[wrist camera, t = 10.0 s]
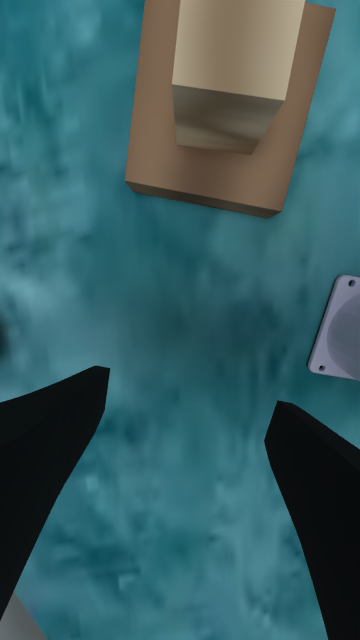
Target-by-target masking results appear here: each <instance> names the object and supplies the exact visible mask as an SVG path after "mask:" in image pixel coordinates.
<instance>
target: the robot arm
mask: <svg viewBox="0 0 360 640" xmlns="http://www.w3.org/2000/svg"><path fill="white" fill-rule="evenodd" d="M350 280H351V281H352V284H351V285H350V286H349V285H348V282H349V281H350ZM321 365H323V367H322V368H321V369H319V367H320V366H321ZM308 369H309V370H310V371H312V372H314V373H320V374H325V375H331V376H337V377H342V378H348V379H354V380H357V381H359V382H360V277H355V276H349V275H341V276H339V277H338V278H337V279H336V282H335V285H334V288H333V291H332V294H331V297H330V300H329V303H328V306H327V309H326V312H325V315H324V318H323V321H322V324H321V327H320V330H319V333H318V336H317V339H316V342H315V345H314V348H313V351H312V354H311V357H310V360H309V363H308ZM109 374H110V368H106V367H101V366H93V367H91V368H88V369H86V370H84V371H82V372H79V373H77V374H75V375H73V376H71V377H68V378H66V379H64V380H62V381H59V382H57V383H55V384H52V385H49V386H47V387H44V388H42V389H39V390H37V391H34V392H32V393H29V394H26V395H23V396H20V397H17V398H14V399H11V400H7V401H4V402H1V403H0V620H1V618H2V616H3V613H4V611H5V609H6V607H7V605H8V602H9V600H10V598H11V595H12V593H13V591H14V589H15V587H16V585H17V582H18V580H19V578H20V576H21V573H22V571H23V569H24V567H25V565H26V563H27V560H28V558H29V556H30V554H31V552H32V550H33V547H34V545H35V543H36V541H37V539H38V537H39V534H40V532H41V530H42V528H43V526H44V524H45V522H46V520H47V518H48V516H49V514H50V511H51V509H52V507H53V505H54V503H55V501H56V499H57V497H58V495H59V494H60V492H61V490H62V488H63V486H64V484H65V483H66V481H67V479H68V478H69V476H70V474H71V473H72V471H73V469H74V467H75V466H76V464H77V462H78V461H79V459H80V457H81V456H82V454H83V452H84V451H85V449H86V447H87V445H88V444H89V442H90V440H91V439H92V437H93V435H94V433H95V431H96V429H97V427H98V425H99V422H100V420H101V418H102V415H103V413H104V410H105V403H106V396H107V388H108V381H109ZM264 442H265V447H266V451H267V455H268V459H269V462H270V466H271V468H272V471H273V474H274V476H275V479H276V481H277V484H278V486H279V489H280V491H281V494H282V496H283V499H284V501H285V504H286V506H287V509H288V511H289V514H290V516H291V519H292V521H293V524H294V526H295V529H296V531H297V534H298V537H299V540H300V543H301V546H302V549H303V552H304V555H305V559H306V562H307V565H308V568H309V572H310V575H311V578H312V582H313V585H314V589H315V592H316V596H317V599H318V603H319V606H320V610H321V614H322V617H323V621H324V624H325V628H326V632H327V636H328V640H360V449H358V448H357V447H355V446H354V445H352V444H351V443H349V442H348V441H347V440H345V439H344V438H342V437H341V436H339V435H338V434H337V433H335V432H334V431H332V430H331V429H329V428H328V427H327V426H325V425H324V424H322V423H321V422H320V421H318V420H317V419H315V418H314V417H313V416H311V415H310V414H308V413H307V412H305V411H304V410H302V409H301V408H299V407H298V406H296V405H294V404H292V403H288V402H283V401H277V404H276V407H275V410H274V413H273V416H272V419H271V421H270V424H269V427H268V430H267V433H266V436H265V439H264Z"/></svg>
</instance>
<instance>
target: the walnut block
mask: <svg viewBox="0 0 360 640" xmlns="http://www.w3.org/2000/svg"><path fill="white" fill-rule="evenodd" d="M180 1H181V0H145V7H144V16H143V24H142V33H141V42H140V51H139V60H138V68H137V77H136V86H135V95H134V104H133V112H132V121H131V130H130V139H129V148H128V156H127V165H126V174H125V182H126V183H127V184H128V186H129V187H130V188H131V189H132V191H133V192H136V193H141V194H147V195H152V196H157V197H162V198H167V199H172V200H177V201H183V202H188V203H193V204H198V205H203V206H208V207H213V208H219V209H224V210H229V211H234V212H239V213H244V214H249V215H255V216H260V217H265V218H270V217H272V216H274V215H276V214H278V213H280V212H282V209H283V206H284V202H285V198H286V194H287V191H288V187H289V183H290V179H291V176H292V172H293V168H294V164H295V161H296V157H297V153H298V150H299V146H300V142H301V138H302V135H303V131H304V127H305V123H306V120H307V116H308V112H309V109H310V105H311V101H312V97H313V94H314V90H315V86H316V82H317V79H318V75H319V71H320V68H321V64H322V60H323V56H324V53H325V49H326V45H327V41H328V38H329V34H330V30H331V27H332V23H333V19H334V15H335V12H336V9H334V8H330V7H325V6H320V5H316V4H311V3H306V2H305V4H304V9H303V14H302V19H301V23H300V28H299V33H298V38H297V43H296V48H295V53H294V58H293V63H292V68H291V73H290V78H289V83H288V88H287V93H286V98H285V101H284V103H283V105H282V106H281V108H280V109H279V111H278V113H277V114H276V116H275V117H274V119H273V121H272V122H271V124H270V126H269V127H268V129H267V130H266V132H265V134H264V135H263V137H262V138H261V140H260V142H259V143H258V145H257V147H256V148H255V150H254V151H253V153H252V155H245V154H238V153H231V152H224V151H217V150H210V149H203V148H196V147H189V146H182V145H177V144H176V131H175V118H174V105H173V92H172V78H173V68H174V59H175V49H176V40H177V30H178V20H179V11H180Z"/></svg>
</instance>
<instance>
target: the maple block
mask: <svg viewBox="0 0 360 640" xmlns="http://www.w3.org/2000/svg"><path fill="white" fill-rule="evenodd" d="M304 4H305V0H181V1H180V11H179V20H178V30H177V40H176V49H175V59H174V68H173V78H172V92H173V105H174V118H175V131H176V144H177V145H182V146H189V147H196V148H203V149H210V150H217V151H224V152H231V153H238V154H245V155H252V153H253V151H254V150H255V148H256V147H257V145H258V143H259V142H260V140H261V138H262V137H263V135H264V134H265V132H266V130H267V129H268V127H269V126H270V124H271V122H272V121H273V119H274V117H275V116H276V114H277V113H278V111H279V109H280V108H281V106H282V105H283V103H284V101H285V98H286V93H287V88H288V83H289V78H290V73H291V68H292V63H293V58H294V53H295V48H296V43H297V38H298V33H299V28H300V23H301V19H302V14H303V9H304Z"/></svg>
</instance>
